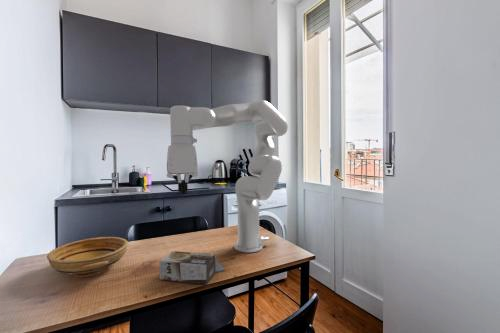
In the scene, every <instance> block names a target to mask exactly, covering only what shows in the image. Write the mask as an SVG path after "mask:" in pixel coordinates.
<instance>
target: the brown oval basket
mask: <svg viewBox="0 0 500 333" xmlns="http://www.w3.org/2000/svg"><path fill="white" fill-rule="evenodd" d="M128 245H129V241H128V240H127V239H125V238H122V237H118V236H117V237H116V236H100V237H98V236H97V237H91V238H85V239H80V240H76V241H73V242H70V243H66V244H63V245H61V246H60V245H59V246H58V247H56V248H53V249H52V250H51V251H49V252H48V253H47V255H46V259H47V260H48V263H49V266H50V267H51V268H52V269H53V270H54V271H56V272H58V273H60V274H66V275H72V276H74V277H82V278H84V277H90V276H95V275H98V274H100V273H103V272H104V271H106V270H107V269H108V268H109V267H110V266H112V265H114V264H116V263H117V262H119V261H120V260H121V259H122V258H123V257H124V255H126V254H125V253H126V251H127V249H128Z"/></svg>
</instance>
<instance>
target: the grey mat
mask: <svg viewBox="0 0 500 333" xmlns="http://www.w3.org/2000/svg"><path fill="white" fill-rule="evenodd" d="M215 266H216V267H215V268H216V269H215V273H214V274H216V273H220V272H225V268H224V266H223V265H222V264H221V263H220V261H219V260H218V259H217V258H216V257H215ZM171 282H174V281H173V280H171Z"/></svg>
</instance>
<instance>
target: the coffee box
mask: <svg viewBox="0 0 500 333" xmlns="http://www.w3.org/2000/svg"><path fill="white" fill-rule="evenodd" d="M215 258H216V254H215V253H208V252H207V253H205V252H192V251H191V252H188V251H177V250H176V251H174V250H173V251H170V252H169V253H168V254H167V255H165V256H164V257H163V258H161V259H160V260H159V279H160V280H163V281H164V280H166V281H172V280H173V281H172V282H183V283H184V282H185V283H192V284H203V285H205V284H206V285H207V284H208V283H209V282H210V280H211V279H212V277H213V276H214V275H215V274H216V273H215V269H216V268H215V267H216V266H215Z"/></svg>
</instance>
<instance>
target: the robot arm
mask: <svg viewBox="0 0 500 333" xmlns="http://www.w3.org/2000/svg"><path fill="white" fill-rule="evenodd" d="M169 112H170V113H169V116H170V118H169V119H170V121H169V122H170V145H168V147H167V152H166V153H167V155H166V171H167V173H166V178H168V179H174V180H175V182H177V185H178V186H177V190H178V193H179V194H180V195H186V194H187V192H188V191H189V190H188V183H189V182H190V180H191V179H193V178H197V177H198V176H199V173H198V168H199V167H198V158H197V157H198V156H197V151H196V146H195V145H194V144H197V142H198V139H197V138H194V134H193V132H194V131H199V130H202V129H203V130H204V129H211V128H218V127H221V128H222V127H231V126H238V125H243V124H244V125H245V124H246V125H247V124H251V123H255V125H254V133H255V135H256V138H257V146H256V149H255V151H254V152H253V155H252V157H251V159H250V161H249V164H248V166H247V167H248V168H247V170H248V173H249V174H250V175H249V176H248V175H245V176H242V177H240V178H238V179H237V181H236V182H235V188H234V189H235V195H236V199H237V202H236V204H237V241H236V243H234V245H233V246H234V249H235V251H238V252H241V253H256V252H260V251H261V250H262V249H263V248H264V245H263V243H264V242H266V243H267V242H270V237H269V236H266V237H265V236H260V205H259V201H266V200H268V199H269V198H270V197H271V196H272V194H273V192H274V190H275V187H276V186H277V184H278V181H279V179H280V176H281V173H282V170H283V168H282V167H283V165H282V161H281V159H280V158H279V157H277V156H276V155H275V153H276V152H275V151H276V146H275V143H274V141H273V139H272V138H275V137H282V136H284V135H286V133H287V132H288V130H289V129H288V128H289V126H288V121H287V120H286V118H285V116H283V115H282V114H281V113H280V112H279V111H278V110H277V108H276V107H275V106H273V104H271V103H270V102H268V101H267V100H265V99H264V100H263V99H261V100H257V101H252V102H246V103H243V102H242V103H232V104H226V105H222V106H218V107H213V108H209V107H205V106H202V107H201V106H199V107H198V106H197V107H196V106H194V107H190V106H188V105H173V106H171V107H170V110H169ZM182 175H184V177H183V180H182Z"/></svg>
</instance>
